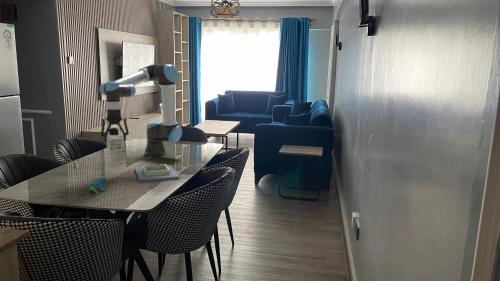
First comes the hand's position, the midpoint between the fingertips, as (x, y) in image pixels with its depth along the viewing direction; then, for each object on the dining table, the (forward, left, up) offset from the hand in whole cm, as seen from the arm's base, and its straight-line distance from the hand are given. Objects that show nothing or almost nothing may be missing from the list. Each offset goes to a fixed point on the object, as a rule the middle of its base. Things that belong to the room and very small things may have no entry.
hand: (115, 146), depth 225 cm
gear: (+31, -12, -16) cm, 37 cm away
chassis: (+9, +22, -16) cm, 29 cm away
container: (0, 0, -2) cm, 2 cm away
